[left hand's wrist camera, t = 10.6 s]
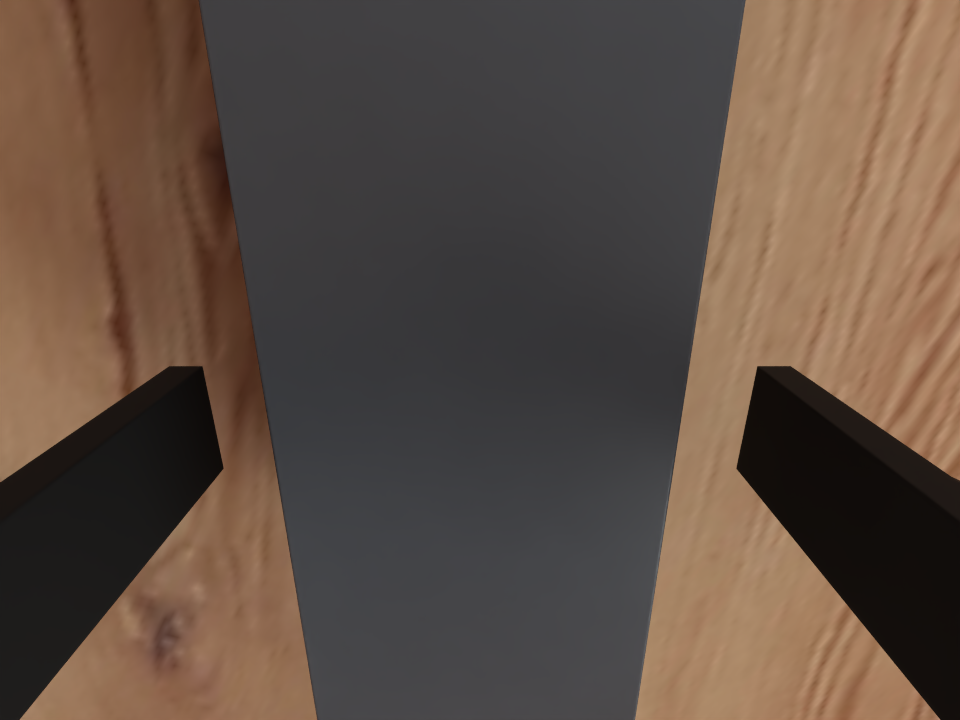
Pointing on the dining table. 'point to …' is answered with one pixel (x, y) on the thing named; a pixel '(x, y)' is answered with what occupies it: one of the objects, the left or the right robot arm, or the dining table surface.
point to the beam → (473, 328)
